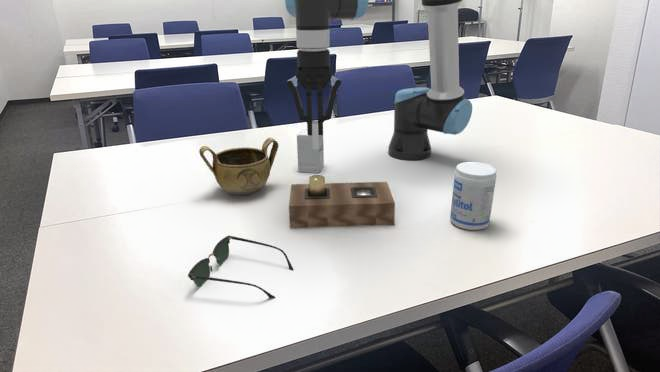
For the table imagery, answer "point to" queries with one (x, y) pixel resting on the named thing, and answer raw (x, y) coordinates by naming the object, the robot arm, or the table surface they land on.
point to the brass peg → (317, 185)
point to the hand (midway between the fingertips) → (315, 147)
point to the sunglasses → (221, 254)
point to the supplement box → (309, 153)
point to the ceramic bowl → (242, 167)
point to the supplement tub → (472, 195)
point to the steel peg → (363, 192)
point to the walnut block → (341, 205)
